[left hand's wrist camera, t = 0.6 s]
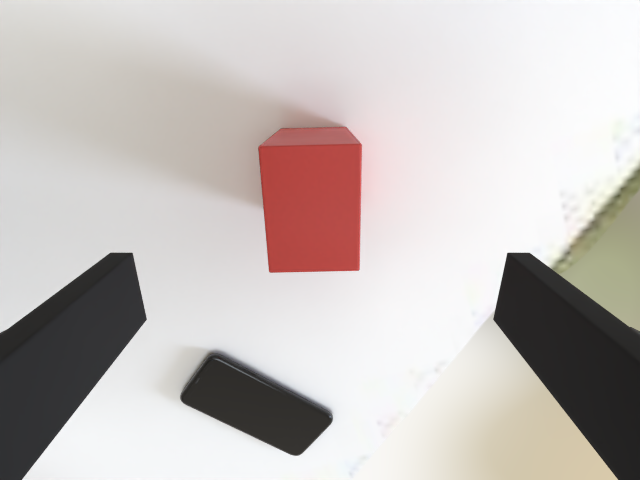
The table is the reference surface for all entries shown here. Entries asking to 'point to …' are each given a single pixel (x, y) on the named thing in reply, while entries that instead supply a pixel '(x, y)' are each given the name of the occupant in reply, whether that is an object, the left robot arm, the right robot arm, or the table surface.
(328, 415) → the smartphone
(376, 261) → the table surface
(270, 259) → the brick
